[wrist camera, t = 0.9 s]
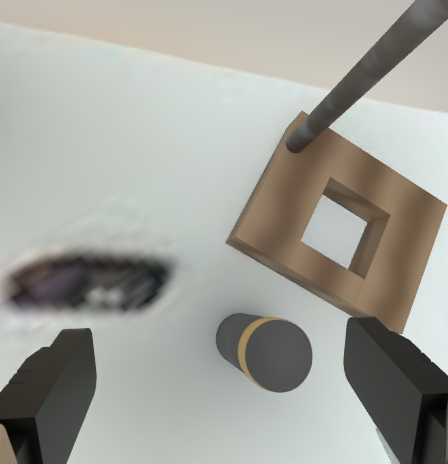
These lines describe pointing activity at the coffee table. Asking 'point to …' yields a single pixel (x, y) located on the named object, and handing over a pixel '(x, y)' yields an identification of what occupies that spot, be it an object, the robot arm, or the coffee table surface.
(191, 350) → the coffee table surface
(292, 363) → the banded grey cylinder
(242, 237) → the wooden gallows stand
